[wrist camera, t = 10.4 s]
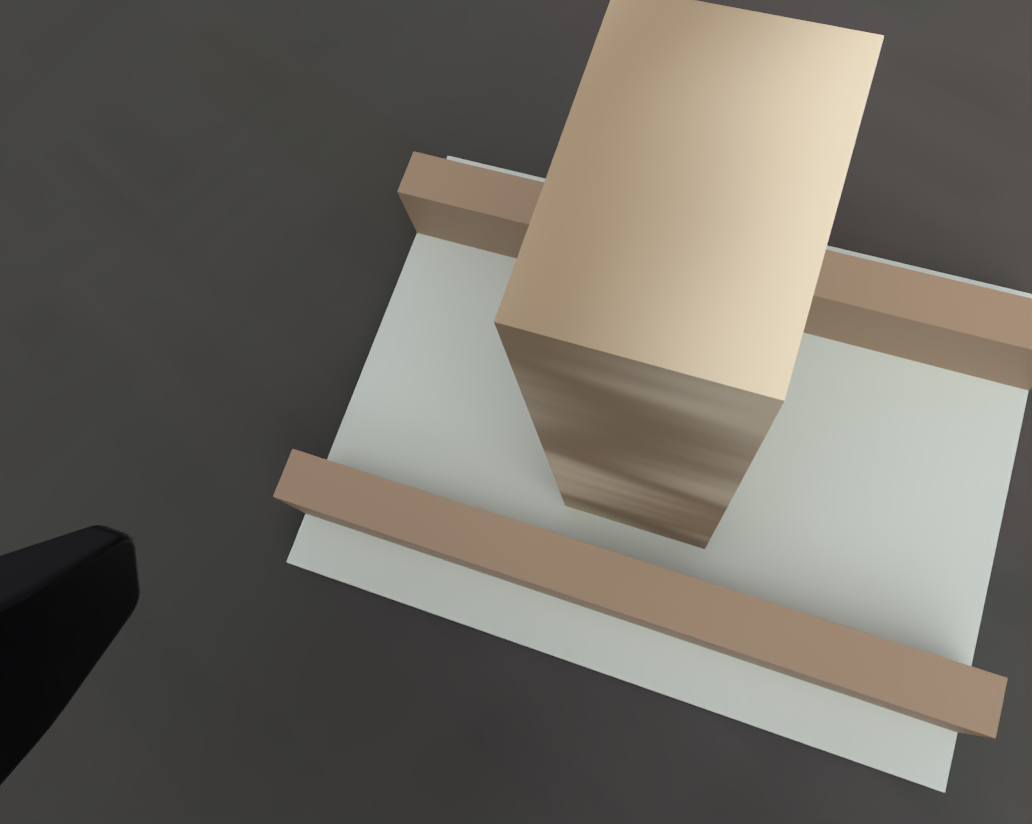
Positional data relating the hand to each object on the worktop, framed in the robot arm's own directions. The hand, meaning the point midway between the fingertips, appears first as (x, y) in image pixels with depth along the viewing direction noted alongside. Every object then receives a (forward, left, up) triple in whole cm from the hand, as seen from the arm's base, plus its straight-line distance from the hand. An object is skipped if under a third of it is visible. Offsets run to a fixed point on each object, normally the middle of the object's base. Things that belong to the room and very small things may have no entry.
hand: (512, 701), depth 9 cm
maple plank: (+3, -6, -12) cm, 14 cm away
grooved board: (+3, -6, -13) cm, 15 cm away
